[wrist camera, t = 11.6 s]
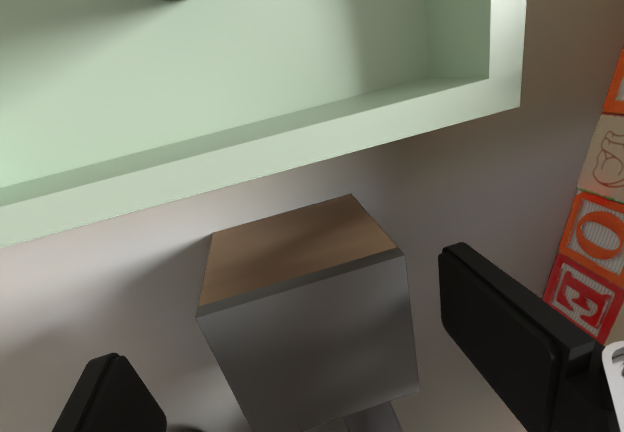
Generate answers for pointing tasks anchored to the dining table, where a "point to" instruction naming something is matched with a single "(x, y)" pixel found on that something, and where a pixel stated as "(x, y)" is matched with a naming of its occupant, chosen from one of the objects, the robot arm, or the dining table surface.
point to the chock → (309, 315)
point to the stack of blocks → (596, 232)
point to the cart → (373, 419)
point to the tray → (226, 93)
